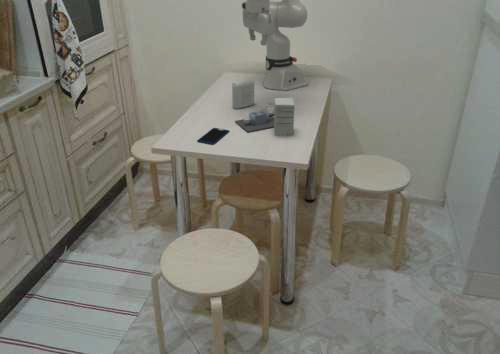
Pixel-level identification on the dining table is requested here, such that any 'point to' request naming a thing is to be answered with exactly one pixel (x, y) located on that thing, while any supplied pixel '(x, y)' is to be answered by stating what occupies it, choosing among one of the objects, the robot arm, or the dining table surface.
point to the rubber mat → (253, 128)
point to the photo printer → (243, 93)
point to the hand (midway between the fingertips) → (258, 42)
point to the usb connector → (258, 117)
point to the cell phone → (213, 136)
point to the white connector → (270, 108)
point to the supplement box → (284, 116)
